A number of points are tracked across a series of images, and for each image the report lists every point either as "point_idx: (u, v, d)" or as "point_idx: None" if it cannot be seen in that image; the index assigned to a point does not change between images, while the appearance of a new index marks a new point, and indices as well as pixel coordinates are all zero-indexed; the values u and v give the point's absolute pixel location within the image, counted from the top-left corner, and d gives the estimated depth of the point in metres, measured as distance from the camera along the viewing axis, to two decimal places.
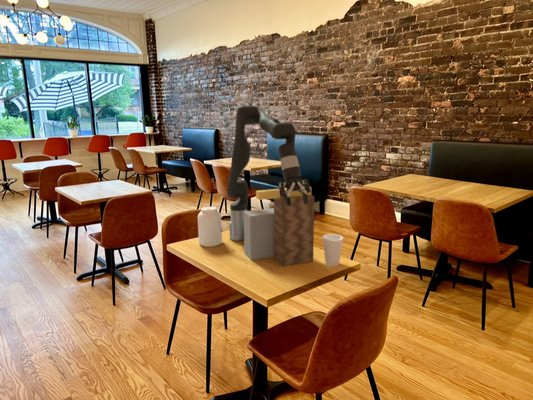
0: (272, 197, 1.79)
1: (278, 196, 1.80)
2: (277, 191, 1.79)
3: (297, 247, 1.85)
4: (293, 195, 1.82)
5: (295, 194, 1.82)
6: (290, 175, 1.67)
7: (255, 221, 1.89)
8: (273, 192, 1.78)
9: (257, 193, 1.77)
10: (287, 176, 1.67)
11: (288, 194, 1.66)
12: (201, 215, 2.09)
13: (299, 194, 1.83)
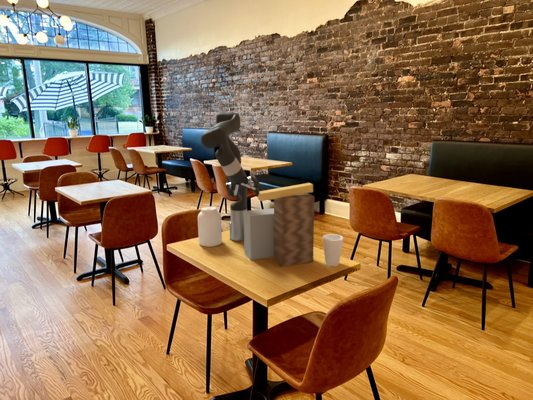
0: (274, 197, 1.79)
1: (280, 196, 1.80)
2: (278, 191, 1.79)
3: (297, 247, 1.85)
4: (295, 193, 1.82)
5: (297, 192, 1.82)
6: (230, 181, 1.70)
7: (255, 221, 1.89)
8: (274, 192, 1.78)
9: (259, 194, 1.78)
10: (229, 180, 1.71)
11: (235, 193, 1.76)
12: (201, 215, 2.09)
13: (301, 192, 1.83)
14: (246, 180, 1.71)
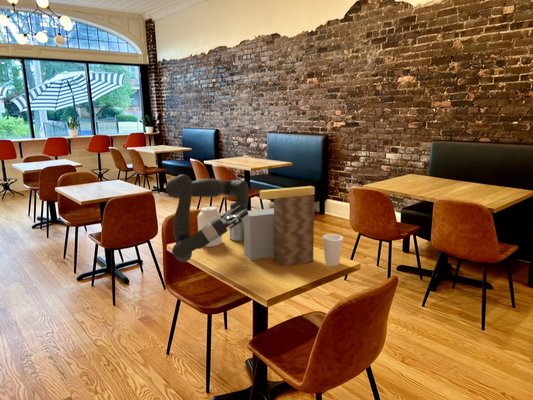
0: (276, 197, 1.79)
1: (282, 196, 1.80)
2: (281, 191, 1.79)
3: (297, 247, 1.85)
4: (296, 195, 1.83)
5: (298, 194, 1.83)
6: None
7: (255, 221, 1.89)
8: (277, 192, 1.79)
9: (261, 193, 1.78)
10: None
11: None
12: (201, 215, 2.09)
13: (302, 194, 1.84)
14: None
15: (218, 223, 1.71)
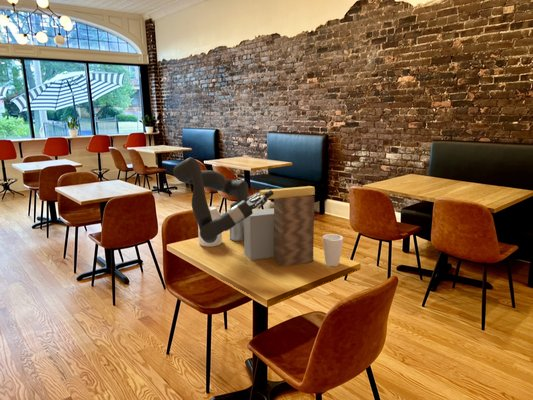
0: (276, 197, 1.79)
1: (281, 196, 1.80)
2: (281, 191, 1.79)
3: (297, 247, 1.85)
4: (296, 195, 1.83)
5: (298, 194, 1.83)
6: None
7: (255, 221, 1.89)
8: (277, 192, 1.79)
9: (261, 193, 1.78)
10: None
11: None
12: None
13: (302, 194, 1.84)
14: None
15: (244, 205, 1.74)
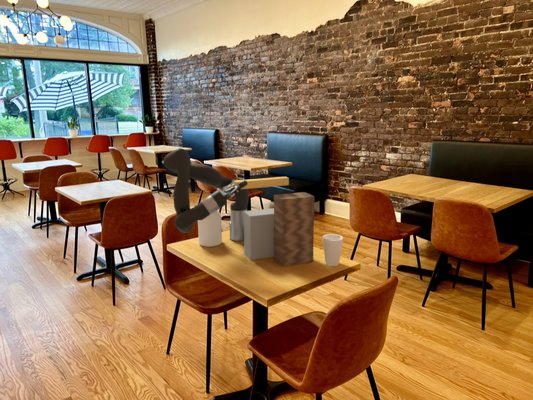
0: (250, 187, 1.83)
1: (256, 186, 1.84)
2: (255, 181, 1.83)
3: (297, 247, 1.85)
4: (271, 185, 1.86)
5: (273, 184, 1.87)
6: None
7: (255, 221, 1.89)
8: (251, 182, 1.82)
9: (235, 183, 1.81)
10: None
11: None
12: None
13: (277, 184, 1.87)
14: None
15: (218, 195, 1.77)
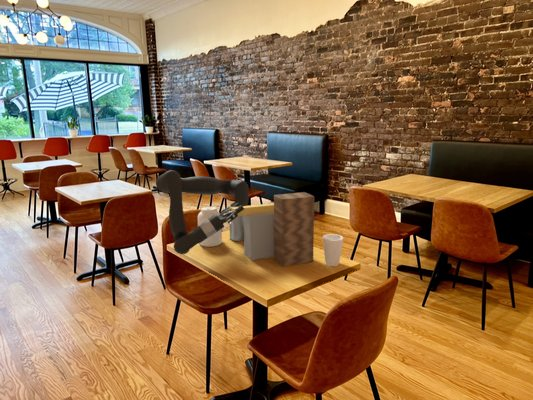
0: (246, 213, 1.90)
1: (252, 212, 1.91)
2: (251, 208, 1.90)
3: (297, 247, 1.85)
4: (266, 211, 1.93)
5: (268, 210, 1.94)
6: None
7: (255, 221, 1.89)
8: (247, 209, 1.90)
9: (232, 210, 1.89)
10: None
11: None
12: (201, 215, 2.09)
13: (272, 210, 1.94)
14: None
15: (215, 219, 1.84)
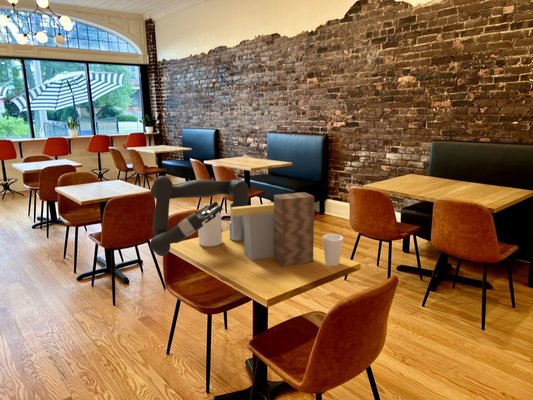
0: (246, 213, 1.90)
1: (252, 212, 1.91)
2: (251, 208, 1.90)
3: (297, 247, 1.85)
4: (266, 211, 1.93)
5: (268, 210, 1.94)
6: None
7: (255, 221, 1.89)
8: (247, 209, 1.90)
9: (232, 210, 1.89)
10: None
11: None
12: None
13: (272, 210, 1.94)
14: None
15: (194, 218, 1.80)
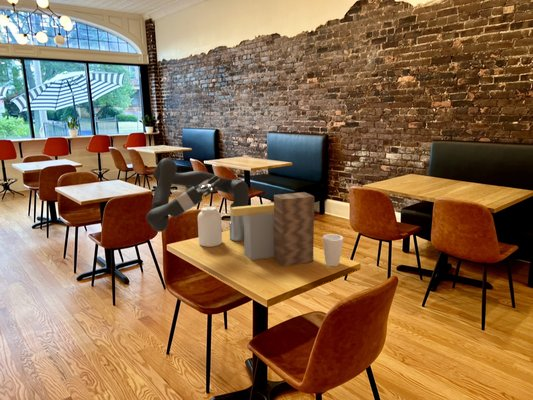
0: (246, 213, 1.90)
1: (252, 212, 1.91)
2: (251, 208, 1.90)
3: (297, 247, 1.85)
4: (266, 211, 1.93)
5: (268, 210, 1.94)
6: None
7: (255, 221, 1.89)
8: (247, 209, 1.90)
9: (232, 210, 1.89)
10: None
11: None
12: (201, 215, 2.09)
13: (272, 210, 1.94)
14: None
15: (193, 191, 1.73)
